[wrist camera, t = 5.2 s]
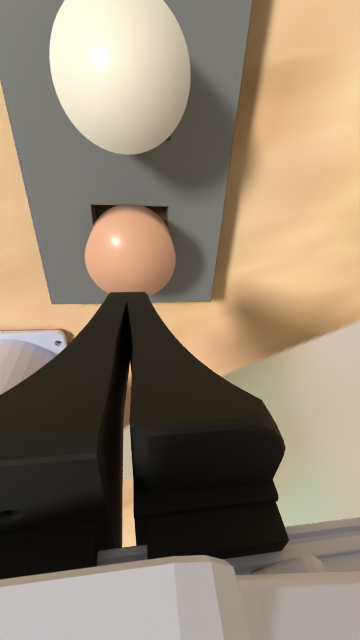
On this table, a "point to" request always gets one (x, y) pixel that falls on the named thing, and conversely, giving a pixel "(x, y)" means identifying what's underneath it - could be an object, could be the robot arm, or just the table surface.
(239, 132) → the table surface
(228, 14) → the panel
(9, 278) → the table surface
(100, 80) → the button cream
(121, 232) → the button terracotta
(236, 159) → the table surface
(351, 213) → the table surface
